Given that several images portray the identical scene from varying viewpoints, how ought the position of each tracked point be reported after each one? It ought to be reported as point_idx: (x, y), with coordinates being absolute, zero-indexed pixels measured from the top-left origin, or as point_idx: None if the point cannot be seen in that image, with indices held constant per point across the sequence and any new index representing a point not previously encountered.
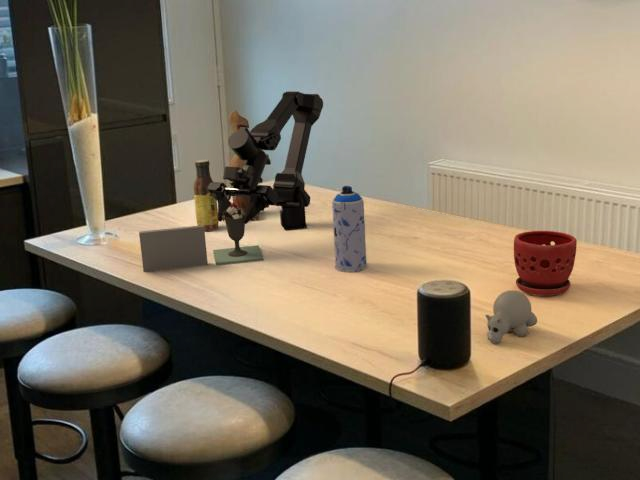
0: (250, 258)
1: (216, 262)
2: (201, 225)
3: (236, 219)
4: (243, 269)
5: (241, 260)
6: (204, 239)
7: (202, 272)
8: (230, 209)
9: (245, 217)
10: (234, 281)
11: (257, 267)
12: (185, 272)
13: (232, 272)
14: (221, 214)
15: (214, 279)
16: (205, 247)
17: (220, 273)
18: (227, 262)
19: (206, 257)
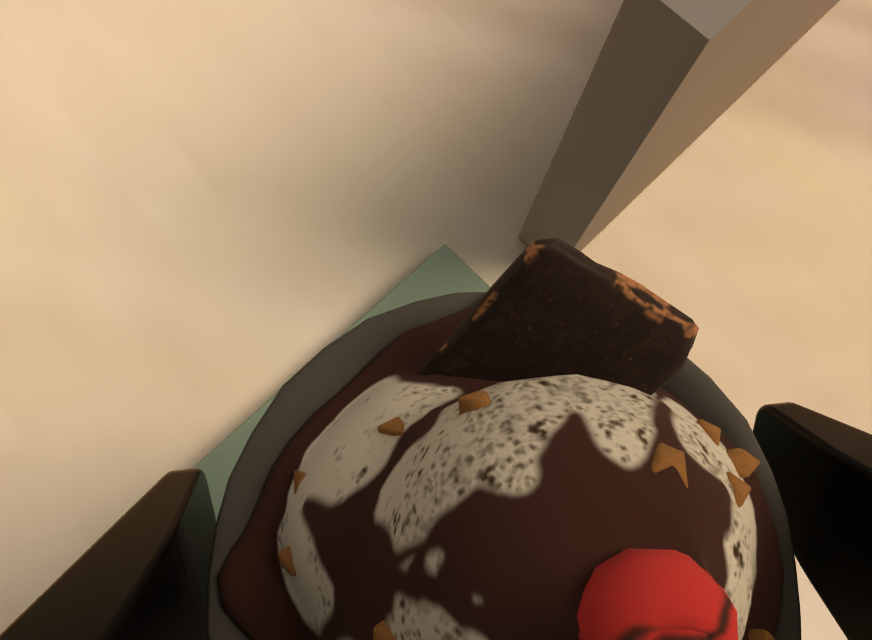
0: (221, 486)
1: (453, 261)
2: (720, 10)
3: (308, 377)
4: (145, 262)
5: (272, 399)
6: (586, 96)
7: (423, 87)
8: (543, 397)
9: (145, 522)
10: (48, 20)
11: (48, 354)
12: (542, 45)
13: (191, 169)
14: (838, 491)
15: (226, 4)
16: (559, 152)
17: (271, 117)
18: (370, 311)
19: (535, 203)
